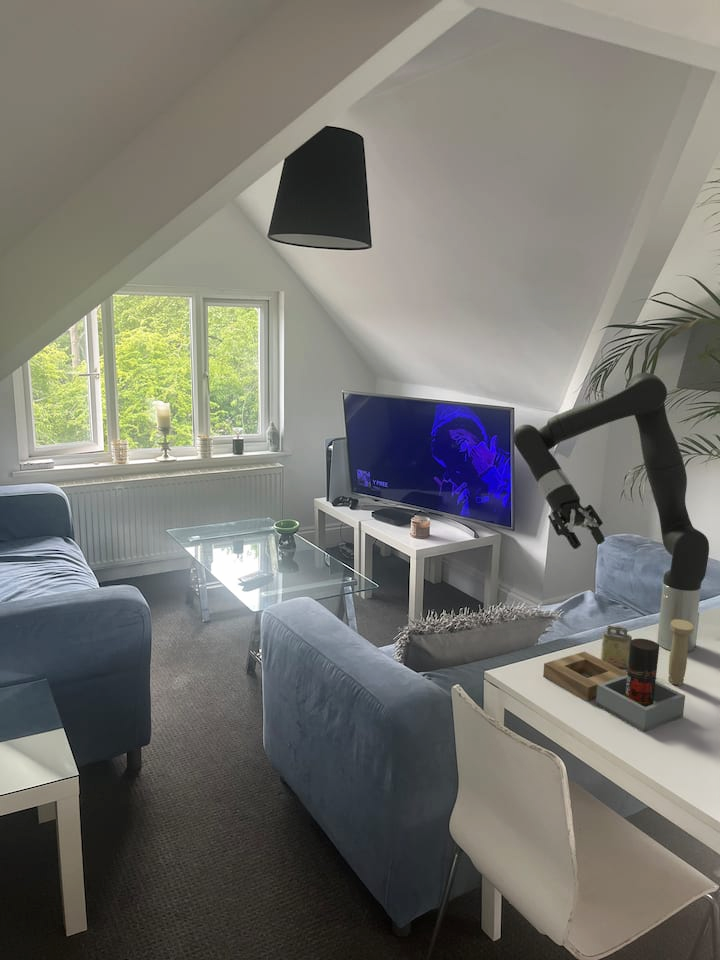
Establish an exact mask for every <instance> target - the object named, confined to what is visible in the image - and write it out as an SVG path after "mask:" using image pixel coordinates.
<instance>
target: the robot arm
mask: <svg viewBox="0 0 720 960" xmlns="http://www.w3.org/2000/svg"><path fill="white" fill-rule="evenodd" d="M667 396H668V388H667V387H666V385H665V383H664V382H663V380H662V379H661V378H660V377H658V376H657V375H656V374H654V373H650V372H639V373H637V374H635V375H633V376H632V377H631V378H630V379H629V381H628V382H627V384H626V388H624V389H622V390H621V391H619V392H617V393H615V394H613V395H611V396H609V397H606V398H604V399H601V400H597V401H594V402H591V403H590V402H589V403H586V404H582V405H579V406H576V407H573V408H571V409H568V410H566V411H564V412H563V411H562V412H561V413H559V414H556V415H554V416H552V417H550V418H549V419H548V420H547V422H546V425H544V426H541V427H540V428H538V429H537V427H535V426H534V425H531V424H521V425H519V426H518V427H517V428H515V430H514V432H513V437H512V439H513V444H514V445H515V447H516V449H517V452H519V454H520V455H521V456H522V458H523V460H524V461H525V462H526V464H527V465H528V467H529V469H530V472H531V474H532V475H533V477H534V478H535V481H536V482H537V484H538V486H539V489H540V491H541V493H542V495H543V496H544V498H545V500H546V502H547V503H548V505H549V507H550V509H551V511H552V512H551V513H550V514H549V515H548V516H547V517H548V520H549V521H550V523H551V525H552V527H553V529H554V531H555V533H556V534H557V535H556V536H559V537H560V536H563V537H564V538H566V539H567V541H568V543H569V546H571V547H572V548H573V550H577V549H579V548H580V547H581V545H582V543H581V542H580V539H579V538H578V537H577V535H576V533H575V532H574V531H573V530H574V527H579V526H580V527H582V528H583V529H586V530H588V531H590V534H591V535H592V536H591V537H592V538H593V539H594V541H595V542H596V545H601V544H604V543H605V540H606V539H605V536H604V534H603V532H602V531H601V530H600V527H601V526H602V525H603V521H602V519H601V518H600V516H599V515H598V513H597V512H596V510H595V509H594V507H593V506H592V505H591V504H588V505H587V506H586V507H584V506H582V504H581V503H580V502H581V497H580V496H579V494H578V493H577V491H576V489H575V487H574V485H573V484H572V482H571V481H570V479H569V477H568V476H567V474H566V473H565V472H564V471H563V469H562V467H561V466H560V464H559V463H558V461H557V459H556V458H555V457H554V455H553V454H552V453H551V452H550V450H551V449H552V448H554V447H556V446H557V445H559V444H560V443H561V442H564V441H567V440H569V439H572V438H574V437H577V436H579V435H582V434H584V433H586V432H589V431H592V430H593V429H596V428H600V427H601V426H605V425H607V424H609V423H613V422H616V421H617V420H618V421H619V420H621V419H624V418H628V417H632V416H633V417H635V421H636V424H637V427H638V431H639V438H640V447H641V453H642V458H643V462H644V468H645V471H646V475H647V479H648V482H649V485H650V489H651V492H652V496H653V499H654V502H655V506H656V508H657V509H656V510H657V512H658V513H657V514H658V517H659V525H660V532H661V540H662V544H663V546H664V548H665V550H666V552H667V553H668V554H669V555H671V564H670V569H669V570H667V571H665V573H664V575H663V582H662V589H661V590H662V591H661V599H660V609H659V610H660V611H659V621H658V627H657V628H658V631H657V640H656V643H657V644H658V645H659V647H661V648H664V649H666V650H668V651H671V646H672V640H673V633H674V632H673V631H672V630H671V629H670V625H671V621H672V620H674V619H679V620H685V621H689V622H690V623H691V624H692V625H693V632H692V634H689V635H688V648H687V653H688V652H691V651H693V650H694V649H695V646H696V645H697V639H698V629H699V620H700V612H699V607H700V595H701V587H702V583H703V581H704V579H705V577H706V574H707V567H708V561H709V555H710V543H709V539H708V538H707V536H706V535H705V534H704V533H703V532H702V531H700V530H698V529H697V528H695V527H694V526H693V523H692V522H691V521H692V520H691V518H690V517H689V516H690V515H689V513H688V510H687V506H686V496H687V495H686V494H687V485H688V479H687V478H688V477H687V471H686V467H685V463H684V459H683V456H682V453H681V450H680V447H679V444H678V441H677V439H676V437H675V435H674V432H673V431H672V428H671V426H670V423H669V420H668V416H667V410H666V405H665V402H666V400H667Z"/></svg>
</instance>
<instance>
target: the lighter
mask: <svg viewBox="0 0 720 960" xmlns="http://www.w3.org/2000/svg"><path fill="white" fill-rule="evenodd" d="M612 630H614V631H612ZM622 632H623V633H622ZM602 635H603V636H602V641H601V653H600V654H601V655H600V659H601V660H603V661H605V662H607V663H609V664H611V665H613V666H615V667H617V668H619V669H628V662H629V651H630V642H631V640H633V636H632V635H630V634H628V630H627V628H625V627H622V626H621V625H616V626H613V625H607V629H606V631H603V634H602Z"/></svg>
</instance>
